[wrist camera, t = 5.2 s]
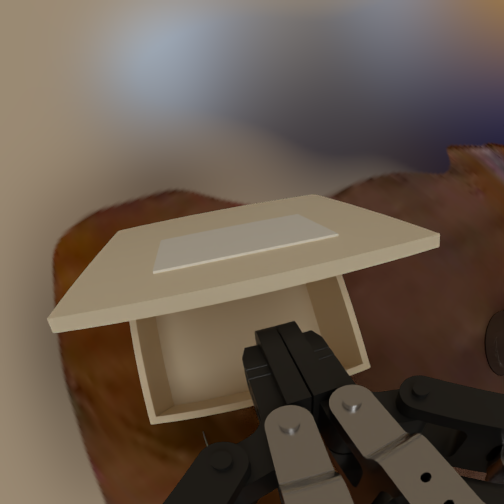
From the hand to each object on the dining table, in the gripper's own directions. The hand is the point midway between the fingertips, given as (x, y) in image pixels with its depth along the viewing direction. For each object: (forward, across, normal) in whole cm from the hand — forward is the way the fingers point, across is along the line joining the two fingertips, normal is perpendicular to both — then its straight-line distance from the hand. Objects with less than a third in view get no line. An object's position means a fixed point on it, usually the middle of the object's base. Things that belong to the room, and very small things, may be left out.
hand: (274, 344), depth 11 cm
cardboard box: (+15, 0, +10) cm, 18 cm away
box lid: (+7, 0, -2) cm, 7 cm away
